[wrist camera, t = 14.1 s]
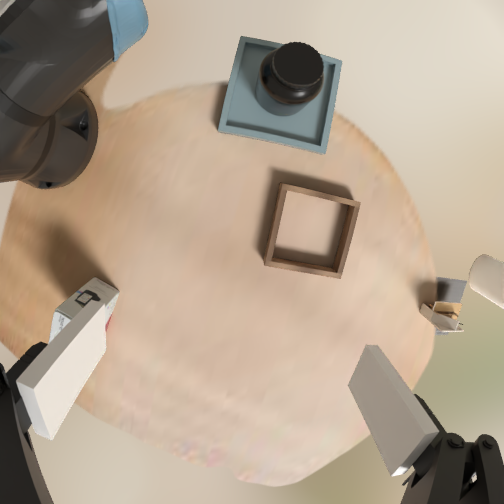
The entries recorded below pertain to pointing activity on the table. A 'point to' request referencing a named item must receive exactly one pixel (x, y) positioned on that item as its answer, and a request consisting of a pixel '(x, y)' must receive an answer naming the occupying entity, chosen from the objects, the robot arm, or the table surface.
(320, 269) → the frame
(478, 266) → the cylindrical container
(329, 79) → the tray
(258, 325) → the table surface
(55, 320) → the ink box
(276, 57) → the supplement bottle
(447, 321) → the architectural model
